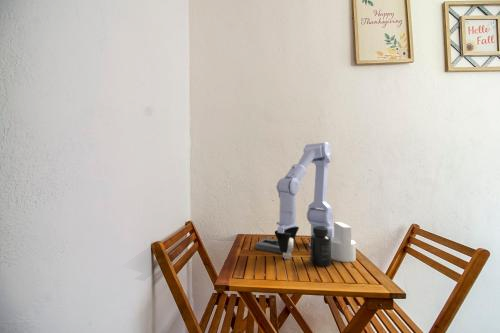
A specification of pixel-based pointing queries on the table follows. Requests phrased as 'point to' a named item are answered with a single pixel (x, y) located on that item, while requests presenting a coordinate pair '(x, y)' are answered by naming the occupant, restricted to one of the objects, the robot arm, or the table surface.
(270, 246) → the keyhole plate
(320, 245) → the supplement bottle
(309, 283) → the table surface
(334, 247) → the cylinder with rectangular tab
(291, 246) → the light bulb
